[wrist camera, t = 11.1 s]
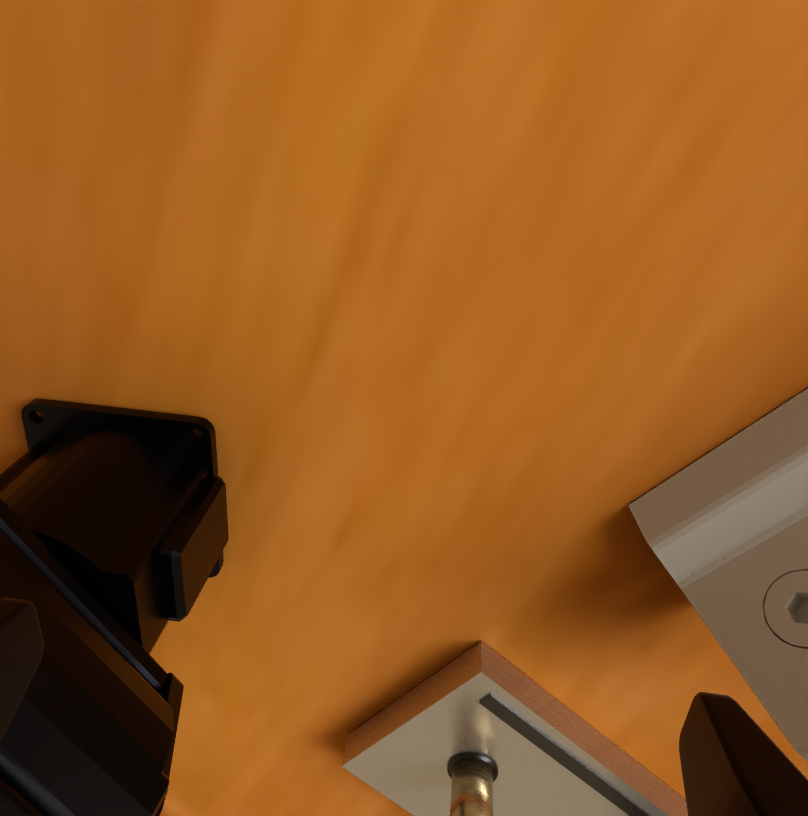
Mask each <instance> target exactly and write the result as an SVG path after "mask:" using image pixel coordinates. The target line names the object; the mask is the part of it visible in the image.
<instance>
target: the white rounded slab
mask: <svg viewBox="0 0 808 816" xmlns="http://www.w3.org/2000/svg"><path fill="white" fill-rule="evenodd" d="M628 506H629V508H630V510H631V512H632V514H633V516H634V518H635V520H636V522H637V524H638V526H639V528H640V530H641V532H642V534H643V536H644V538H645V540H646V542H647V543H648V545H649V546H650V547H651V549H652V550H653V552H654V553H655V554H656V556H657V557H658V558H659V560H660V561H661V563H662V564H663V565H664V567H665V568H666V569H667V571H668V572H669V574H670V575H671V576H672V578H673V579H674V580H675V582H676V583H677V585H678V586H679V587H680V589H681V590H682V591H683V593H684V594H685V596H686V597H687V599H688V600H689V601H690V603H691V604H692V606H693V607H694V608H695V610H696V611H697V613H698V614H699V616H700V617H701V618H702V620H703V621H704V623H705V624H706V625H707V627H708V628H709V630H710V631H711V632H712V634H713V635H714V637H715V638H716V640H717V641H718V642H719V644H720V645H721V647H722V648H723V649H724V651H725V652H726V654H727V655H728V656H729V658H730V659H731V661H732V662H733V664H734V665H735V666H736V668H737V669H738V671H739V672H740V673H741V675H742V676H743V678H744V679H745V681H746V682H747V683H748V685H749V686H750V688H751V689H752V690H753V692H754V693H755V695H756V696H757V697H758V699H759V700H760V702H761V703H762V705H763V706H764V707H765V709H766V710H767V712H768V713H769V714H770V716H771V717H772V719H773V720H774V722H775V723H776V724H777V726H778V727H779V729H780V730H781V731H782V733H783V734H784V736H785V737H786V738H787V740H788V741H789V742H790V744H791V745H792V746H793V748H794V749H795V750H796V752H797V753H798V754H800V755H801V756H802V757H803V758H804V759H805V760H806V761H807V762H808V388H807V389H806V390H804V391H803V392H801V393H800V394H798V395H797V396H795V397H794V398H792V399H790V400H789V401H787V402H786V403H784V404H783V405H781V406H780V407H778V408H777V409H775V410H774V411H772V412H771V413H769V414H767V415H766V416H764V417H763V418H761V419H760V420H758V421H757V422H755V423H754V424H752V425H751V426H749V427H748V428H746V429H744V430H743V431H741V432H740V433H738V434H737V435H735V436H734V437H732V438H731V439H729V440H728V441H726V442H725V443H723V444H721V445H720V446H718V447H717V448H715V449H714V450H712V451H711V452H709V453H708V454H706V455H705V456H703V457H701V458H700V459H698V460H697V461H695V462H694V463H692V464H691V465H689V466H688V467H686V468H685V469H683V470H682V471H680V472H678V473H677V474H675V475H674V476H672V477H671V478H669V479H668V480H666V481H665V482H663V483H662V484H660V485H659V486H657V487H655V488H654V489H652V490H651V491H649V492H648V493H646V494H645V495H643V496H642V497H640V498H639V499H637V500H635V501H634V502H632V503H631V504H629V505H628Z"/></svg>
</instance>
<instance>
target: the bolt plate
mask: <svg viewBox="0 0 808 816" xmlns="http://www.w3.org/2000/svg"><path fill="white" fill-rule="evenodd" d="M342 767H343V768H344V769H346V770H347V771H349V772H350V773H352V774H353V775H355V776H356V777H358V778H359V779H361V780H362V781H364V782H365V783H367V784H368V785H370V786H371V787H373V788H374V789H376V790H377V791H378V792H380V793H381V794H383V795H384V796H386V797H387V798H389V799H390V800H392V801H393V802H395V803H396V804H398V805H399V806H401V807H402V808H404V809H405V810H407V811H408V812H409V813H411V814H412V815H414V816H688V811H687V804H686V800H685V799H684V798H682V797H681V796H680V795H679V794H677V793H676V792H675V791H673V790H672V789H671V788H670V787H668V786H667V785H666V784H664V783H663V782H662V781H661V780H659V779H658V778H657V777H655V776H654V775H653V774H652V773H650V772H649V771H648V770H646V769H645V768H644V767H643V766H641V765H640V764H639V763H637V762H636V761H635V760H634V759H632V758H631V757H630V756H628V755H627V754H626V753H625V752H623V751H622V750H621V749H620V748H618V747H617V746H616V745H614V744H613V743H612V742H611V741H609V740H608V739H607V738H605V737H604V736H603V735H602V734H600V733H599V732H598V731H596V730H595V729H594V728H593V727H591V726H590V725H589V724H587V723H586V722H585V721H584V720H582V719H581V718H580V717H578V716H577V715H576V714H575V713H573V712H572V711H571V710H569V709H568V708H567V707H566V706H564V705H563V704H562V703H560V702H559V701H558V700H557V699H555V698H554V697H553V696H551V695H550V694H549V693H548V692H546V691H545V690H544V689H543V688H541V687H540V686H539V685H537V684H536V683H535V682H534V681H532V680H531V679H530V678H528V677H527V676H526V675H525V674H523V673H522V672H521V671H519V670H518V669H517V668H516V667H514V666H513V665H512V664H510V663H509V662H508V661H507V660H505V659H504V658H503V657H501V656H500V655H499V654H498V653H496V652H495V651H494V650H492V649H491V648H490V647H489V646H487V645H486V644H485V643H483V642H482V641H481V642H479V643H478V644H476V645H475V646H474V647H472V648H471V649H469V650H468V651H466V652H465V653H464V654H462V655H461V656H459V657H458V658H456V659H455V660H454V661H452V662H451V663H449V664H448V665H446V666H445V667H444V668H442V669H441V670H439V671H438V672H436V673H435V674H434V675H432V676H431V677H429V678H428V679H426V680H425V681H424V682H422V683H421V684H419V685H418V686H416V687H415V688H414V689H412V690H411V691H409V692H408V693H406V694H405V695H404V696H402V697H401V698H399V699H398V700H396V701H395V702H394V703H392V704H391V705H389V706H388V707H386V708H385V709H384V710H382V711H381V712H379V713H378V714H376V715H375V716H374V717H372V718H371V719H369V720H368V721H366V722H365V723H364V724H362V725H361V726H359V727H358V728H356V729H355V730H354V731H352V732H351V733H349V734H348V737H347V742H346V747H345V751H344V756H343V761H342Z"/></svg>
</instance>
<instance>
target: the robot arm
mask: <svg viewBox="0 0 808 816" xmlns="http://www.w3.org/2000/svg"><path fill="white" fill-rule="evenodd" d="M36 411H38V412H39V413H41V414H42V416H43V418H41V417H39V416H38V415H37V413H36ZM22 419H23V424H24V429H25V433H26V438H27V443H28V448H29V451H28V452H26V453H25V454H24V455H23V456H22V457H21V458H19V459H18V460H17V461H16V462H15V463H14V464H12V465H11V466H10V467H9V468H8V469H7V470H5V471H4V472H3V473H2V474H1V475H0V816H159V815H160V813H161V811H162V808H163V804H164V800H165V797H166V795H167V791H168V785H169V774H170V768H171V762H172V756H173V750H174V743H175V737H176V731H177V725H178V719H179V712H180V706H181V700H182V694H183V688H184V686H183V684H182V683H181V682H180V681H179V680H178V679H177V678H176V677H175V676H174V675H173V674H172V673H168V674H167V673H166V672H165V671H164V670H163V668H162V667H161V666H160V665H159V664H158V663H157V662H156V661H155V660H154V659H153V658H152V657H151V656H150V655H149V654H150V652H151V651H152V649H153V647H154V645H155V644H156V642H157V640H158V638H159V636H160V635H161V633H162V631H163V629H164V628H165V626H166V624H167V622H168V621H169V620H172V621H181V620H182V619H184V618H185V617H186V616H187V615H188V614H189V612H190V610H191V608H192V606H193V605H194V603H195V601H196V599H197V597H198V595H199V593H200V592H201V590H202V588H203V586H204V584H205V582H206V580H207V579H208V577H214V576H217V574H218V573H219V572H220V570H221V568H222V566H223V562H224V561H223V549H224V547H225V545H226V543H227V542H228V521H227V504H226V487H225V483H224V481H223V480H222V478H221V477H218V467H217V451H216V436H215V429H214V426H213V425H212V424H211V422H209V421H208V420H207V419H205V418H201V417H195V416H186V415H178V414H169V413H160V412H151V411H143V410H134V409H125V408H116V407H108V406H99V405H90V404H81V403H73V402H64V401H55V400H46V399H35V400H33V401H31V402H30V403H29V404H27V405H26V406H25V407H24V408H23V410H22ZM193 429H197V430H200V431H201V432H202V433H203V436H204V437H200V436H197V435H196V434H195V433H194V430H193ZM679 752H680V760H681V767H682V775H683V782H684V789H685V797H686V804H687V811H688V816H808V780H807V779H806V778H805V776H804V775H803V774H802V773H801V772H800V771H799V770H798V769H797V768H796V767H795V765H794V764H793V763H792V762H791V761H790V760H789V759H788V758H787V757H786V756H785V755H784V753H783V752H782V751H781V750H780V749H779V748H778V747H777V746H776V745H775V744H774V742H773V741H772V740H771V739H770V738H769V737H768V736H767V735H766V734H765V733H764V732H763V730H762V729H761V728H760V727H759V726H758V725H757V724H756V723H755V722H754V721H753V719H752V718H751V717H750V716H749V715H748V714H747V713H746V712H745V711H744V710H743V709H742V707H741V706H740V705H739V704H738V703H737V702H736V701H735V700H734V699H732V698H731V697H729V696H726V695H720V694H713V693H706V692H700V693H698V694H697V695H696V696H695V697H694V699H693V701H692V704H691V706H690V709H689V712H688V714H687V717H686V720H685V722H684V725H683V728H682V730H681V734H680V739H679Z"/></svg>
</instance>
